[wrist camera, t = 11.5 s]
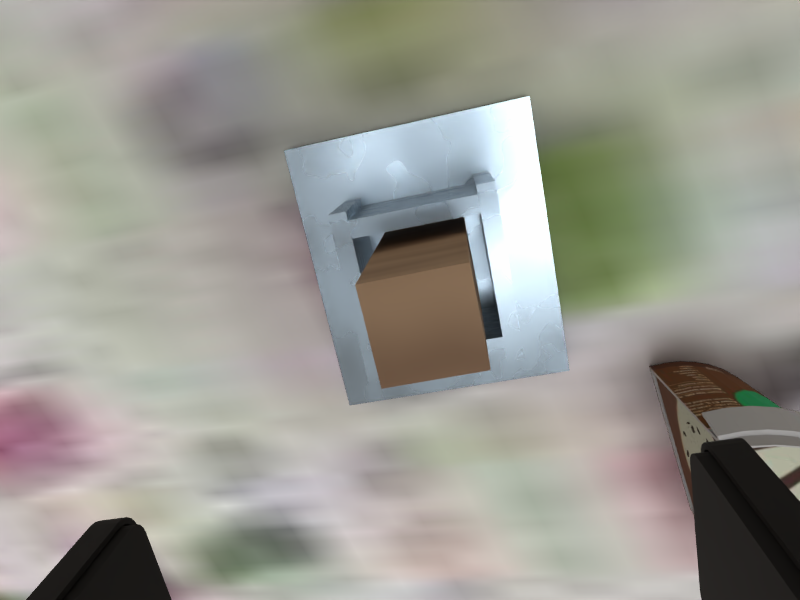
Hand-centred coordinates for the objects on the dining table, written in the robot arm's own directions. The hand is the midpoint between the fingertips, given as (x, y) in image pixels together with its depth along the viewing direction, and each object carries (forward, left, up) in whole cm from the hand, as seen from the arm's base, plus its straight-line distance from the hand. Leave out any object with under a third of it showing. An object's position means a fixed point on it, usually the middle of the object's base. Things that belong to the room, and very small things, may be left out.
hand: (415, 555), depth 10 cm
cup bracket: (0, 0, -22) cm, 22 cm away
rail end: (0, 0, -22) cm, 22 cm away
